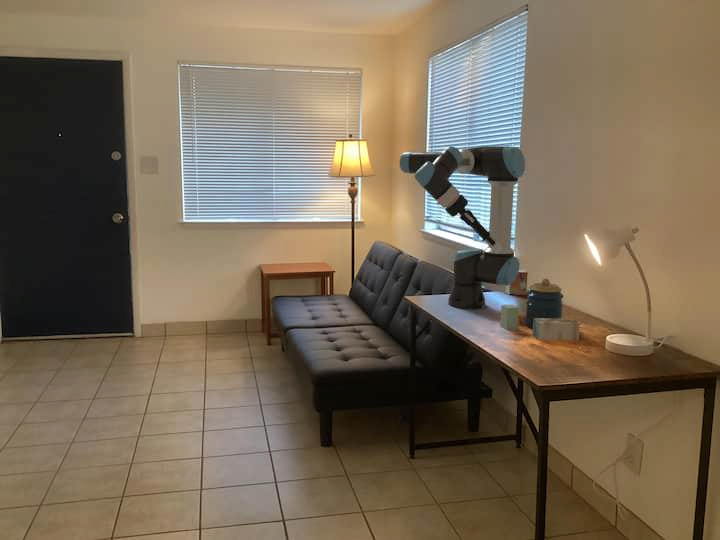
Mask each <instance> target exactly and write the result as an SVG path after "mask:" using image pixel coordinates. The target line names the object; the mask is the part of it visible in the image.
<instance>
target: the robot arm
mask: <svg viewBox="0 0 720 540" xmlns="http://www.w3.org/2000/svg"><path fill="white" fill-rule="evenodd" d="M399 169H400V170H401V172H403V173H404V174H410V175H411V174H414V179H415V180H416V182H418V184H419V185H420V187H421V188H423V189H424V190H425V191H426V192H427V193H428V194H429V195H430V196H431V197H432V198H433V199H434V200H435V201H436V205H437V206H439V205H440V206H441V207H442V209H445V212H446V213H447V214H448V215H449V216H450V217H456V216H457V215H458V214H459V215H460V216H459V217H458V218H459V219H460V220H461V221H463V222H464V223H465V224H466V225H467V226H469V227H471V229H472V230H473V231H474V232H476V233H475V234H477V235H478V236H479V237H480V238H481V241H482V242H485V243H486V244H487V245H488V246H487V247H486V248H485V249H482V248H472V249H471V248H470V249H461V250H457V251H456V252H455V254H454V257H453V258H454V260H453V280H452V281H453V283H452V285H453V286H452V288H451V290H450V294H449V296H448V301H447V302H448V303H447V304H448V305H449V306H451V307H454V308H458V309H459V308H460V309H479V308H478V307H481V308H483V307H482V306H484V305H485V306H486V298H485V295H484V290H483V287H482V286H483V284H484V283H485V284H491V285H496V286H497V285H498V286H505V287H506V286H507V285H510V284H512V283H513V282H514V280H515V279H516V277H517V275H518V272H519V270H520V260H519V258H517V257H516V256H515V251H514V249H512V247H511V246H512V227H513V226H512V224H513V211H514V210H513V209H514V189H515V186H516V185H517V183H519V178H522V176H523V175H524V174H525V171H526V158H525V155H524V153H523V152H522V150H521V149H520V148H519V147H517V146H511V145H510V146H508V145H505V146H503V145H501V146H493V145H491V146H487V145H486V146H484V145H483V146H476V147H470V148H461V149H458V148H457V147H454V146H452V145H451V146H450V145H449V146H447V147H445V148H444V149H443V150H442V151H406V152H403V153H402V154H401V155H400V158H399ZM456 172H457V173H460V174H463V175H467V174H468V175H473V176H479V177H480V176H481V177H487V183H488V184H489V185H490V186H491V187H490V205H489V206H490V208H489V226H488V227H489V228H488V230H487V229H486V228H485V227H484V225H482V224H481V223H480V221H478V219H477V217H476V216H475V215H474V213H473V212H472V211H471V210H470V209H468V208H467V209H466V207H467V205H468V203H469V200H468V199H467V198H466V197H465V196H464V195H463V194H461V192H460V191H459V190H458V189H457V188H456V187H455V185H454V184H453V183H451V181H450V180H449V179H450V177H451V176H452V175H453V174H454V173H456ZM485 306H484V307H485Z"/></svg>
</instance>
